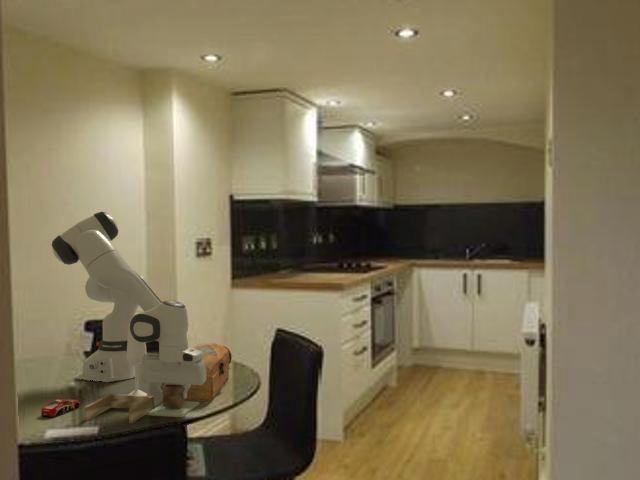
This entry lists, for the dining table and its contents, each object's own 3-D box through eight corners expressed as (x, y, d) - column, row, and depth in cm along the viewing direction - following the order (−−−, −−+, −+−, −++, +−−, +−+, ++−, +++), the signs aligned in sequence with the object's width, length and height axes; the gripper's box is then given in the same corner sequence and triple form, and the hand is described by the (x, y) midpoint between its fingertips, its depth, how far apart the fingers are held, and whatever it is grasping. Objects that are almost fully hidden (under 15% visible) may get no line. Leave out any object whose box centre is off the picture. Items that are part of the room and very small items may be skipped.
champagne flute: (123, 394, 211) (122, 324, 210) (142, 391, 215) (142, 322, 214) (130, 399, 205) (130, 326, 205) (150, 395, 209) (149, 324, 209)
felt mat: (147, 415, 188) (147, 413, 188) (167, 402, 202) (167, 400, 202) (182, 417, 186) (182, 415, 186) (199, 403, 200) (199, 401, 200)
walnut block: (163, 406, 192) (163, 386, 192) (169, 401, 197) (169, 382, 197) (178, 407, 191) (178, 387, 191) (184, 402, 196) (184, 383, 196)
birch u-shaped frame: (84, 420, 183) (84, 407, 183) (109, 406, 197) (109, 393, 197) (132, 423, 180) (132, 409, 180) (154, 408, 194) (154, 396, 194)
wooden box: (215, 401, 203) (215, 359, 202) (165, 401, 204) (165, 359, 203) (233, 379, 233) (233, 342, 232) (189, 378, 234) (189, 341, 233)
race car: (69, 405, 199) (69, 393, 199) (83, 407, 197) (83, 395, 197) (37, 417, 187) (37, 404, 187) (51, 419, 185) (51, 406, 185)
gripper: (137, 354, 192) (138, 398, 193) (200, 356, 189) (201, 402, 189) (147, 350, 198) (147, 393, 199) (208, 352, 195) (208, 396, 195)
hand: (174, 397), depth 194 cm, fingers closed on walnut block, 5 cm apart
